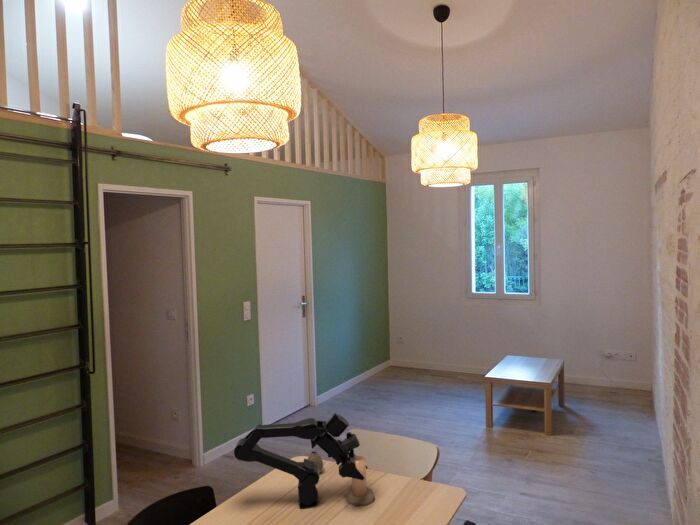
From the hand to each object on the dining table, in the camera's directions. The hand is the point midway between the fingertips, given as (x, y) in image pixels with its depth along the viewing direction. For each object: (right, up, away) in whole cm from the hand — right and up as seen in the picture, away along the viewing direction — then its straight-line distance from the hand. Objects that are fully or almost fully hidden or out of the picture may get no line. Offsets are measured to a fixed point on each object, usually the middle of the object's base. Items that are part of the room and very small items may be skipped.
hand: (362, 473), depth 190 cm
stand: (-1, -10, 0) cm, 10 cm away
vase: (-19, -10, +24) cm, 32 cm away
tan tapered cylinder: (-1, -8, 0) cm, 8 cm away
